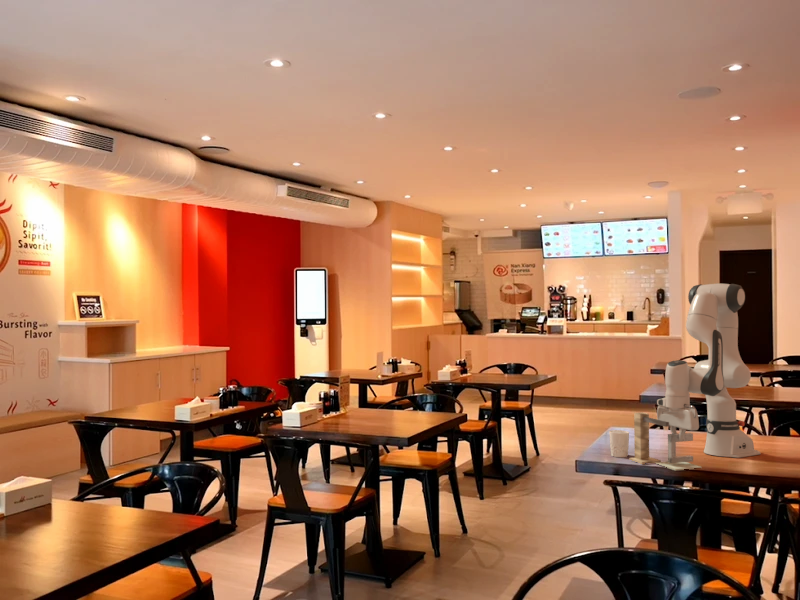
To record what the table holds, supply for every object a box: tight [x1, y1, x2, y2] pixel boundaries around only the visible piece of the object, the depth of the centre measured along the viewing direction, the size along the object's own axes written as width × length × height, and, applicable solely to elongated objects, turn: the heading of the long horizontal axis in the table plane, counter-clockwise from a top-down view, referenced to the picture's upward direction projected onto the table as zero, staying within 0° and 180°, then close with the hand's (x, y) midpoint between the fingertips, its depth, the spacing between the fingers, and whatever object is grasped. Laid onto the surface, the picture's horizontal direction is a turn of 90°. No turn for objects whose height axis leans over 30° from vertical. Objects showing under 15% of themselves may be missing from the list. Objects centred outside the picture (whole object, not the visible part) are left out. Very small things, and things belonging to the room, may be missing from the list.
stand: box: [628, 412, 670, 465], centre depth 281 cm, size 9×18×19 cm, turn 17°
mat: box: [655, 461, 703, 472], centre depth 277 cm, size 12×12×1 cm
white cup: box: [608, 429, 630, 458], centre depth 297 cm, size 8×8×10 cm
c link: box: [667, 432, 694, 463], centre depth 277 cm, size 10×2×11 cm, turn 107°
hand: (677, 438), depth 277 cm, fingers closed on c link, 2 cm apart
